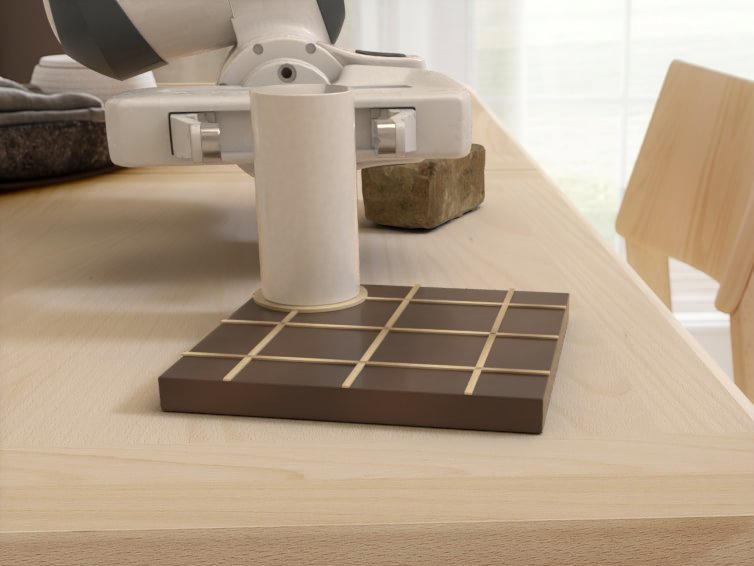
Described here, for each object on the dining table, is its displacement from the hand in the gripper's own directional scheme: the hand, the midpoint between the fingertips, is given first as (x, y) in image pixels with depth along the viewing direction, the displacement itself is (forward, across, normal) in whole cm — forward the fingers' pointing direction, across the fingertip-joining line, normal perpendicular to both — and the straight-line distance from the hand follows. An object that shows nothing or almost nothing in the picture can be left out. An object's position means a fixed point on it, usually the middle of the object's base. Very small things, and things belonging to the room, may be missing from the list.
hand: (300, 143), depth 60 cm
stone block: (-23, +10, +9) cm, 27 cm away
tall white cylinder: (+3, 0, +7) cm, 8 cm away
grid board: (+10, +3, +9) cm, 13 cm away
